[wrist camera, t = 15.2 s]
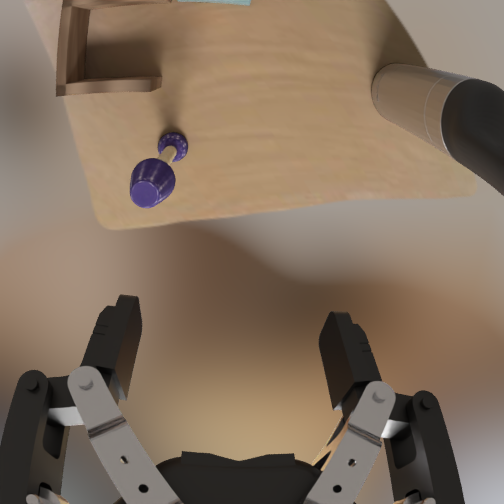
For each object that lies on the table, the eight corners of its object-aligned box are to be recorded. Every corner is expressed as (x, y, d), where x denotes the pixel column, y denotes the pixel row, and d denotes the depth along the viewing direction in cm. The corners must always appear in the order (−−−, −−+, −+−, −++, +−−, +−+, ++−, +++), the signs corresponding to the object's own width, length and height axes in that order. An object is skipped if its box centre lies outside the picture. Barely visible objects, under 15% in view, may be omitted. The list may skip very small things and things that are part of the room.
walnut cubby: (172, -7, 28) (162, -16, 23) (160, 87, 36) (150, 91, 31) (82, 2, 26) (63, -3, 22) (75, 90, 34) (56, 96, 30)
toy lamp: (164, 124, 39) (125, 166, 25) (196, 134, 40) (174, 180, 26) (155, 156, 41) (115, 211, 28) (185, 165, 42) (161, 225, 29)
